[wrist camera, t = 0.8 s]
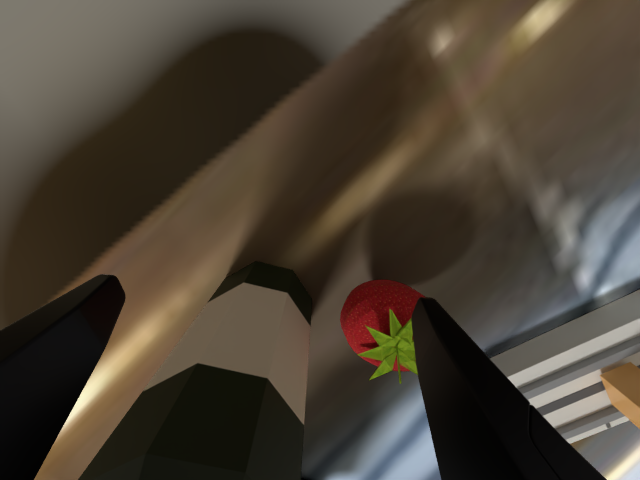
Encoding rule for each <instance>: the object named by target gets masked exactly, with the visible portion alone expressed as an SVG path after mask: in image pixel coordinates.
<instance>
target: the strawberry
mask: <svg viewBox="0 0 640 480" xmlns="http://www.w3.org/2000/svg"><path fill="white" fill-rule="evenodd" d="M420 297H425V296H423V295H422V294H420V293H419V292H417V291H416V290H414V289H412V288H411V287H409V286H407V285H405V284H402V283H399V282H396V281H391V280H373V281H368V282H365V283H363V284H361V285H359V286H357V287H356V288H355V289H354V290H352V291H351V293H350V294H349V296H348V297H347V299H346V301H345V303H344V306H343V308H342V311H341V317H340V322H341V327H342V330H343V332H344V334H345V336H346V339H347V341H348V343H349V345H350V346H351V348H352V349H353V350H354V351H355V352H356V353H357V354H358V356H360V357H361V358H363V359H364V360H366V361H367V362H369V363H371V364H373V365H375V366H378V368H377V369H376V370H375V372H374V373H373V375H372V376H371V377H370V379H369V380H371V379H374V378H376V377H378V376H381V375H383V374H385V373H388V372H390V371H392V370H394V371H398V373H399V383H400V384H401V373H400V371H412V372H414V373H415V374H417V375H418V373H417V367H416V359H415V349H414V340H413V331H412V322H411V318H412V313H413V311H414V308H415V306H416V303H417V301H418V299H419V298H420Z"/></svg>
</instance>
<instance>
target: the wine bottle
mask: <svg viewBox="0 0 640 480" xmlns="http://www.w3.org/2000/svg"><path fill="white" fill-rule="evenodd" d="M311 309H312V299H311V297H310V295H309V294H308V292H307V291H306V289H305V288H304V286H303V285H302V283H301V282H300V280H299V279H298V277H297V276H296V274H295V273H294V271H293V270H290V269H286V268H282V267H278V266H273V265H269V264H265V263H261V262H257V261H255V262H254V263H252V264H250V265H248V266H247V267H245V268H243V269H241V270H240V271H238V272H236V273H234V274H232V275H231V276H229V277H227V278H225V279H224V281H223V282H222V283H221V285H220V286H219V288H218V289H217V290H216V292H215V293H214V294H213V296H212V297H211V299H210V300H209V301H208V303H207V304H206V305H205V307H204V308H203V309H202V311H201V312H200V314H199V315H198V316H197V318H196V319H195V320H194V322H193V323H192V325H191V326H190V327H189V329H188V330H187V331H186V333H185V334H184V335H183V337H182V338H181V340H180V341H179V342H178V344H177V345H176V346H175V348H174V349H173V350H172V352H171V353H170V355H169V356H168V357H167V359H166V360H165V361H164V363H163V364H162V366H161V367H160V368H159V370H158V371H157V372H156V374H155V375H154V376H153V378H152V379H151V381H150V382H149V383H148V385H147V386H146V387H145V389H144V390H143V392H142V393H141V394H140V396H139V397H138V398H137V400H136V401H135V402H134V404H133V405H132V407H131V408H130V409H129V411H128V412H127V413H126V415H125V416H124V418H123V419H122V420H121V422H120V423H119V424H118V426H117V427H116V428H115V430H114V431H113V433H112V434H111V435H110V437H109V438H108V439H107V441H106V442H105V444H104V445H103V446H102V448H101V449H100V450H99V452H98V453H97V454H96V456H95V457H94V459H93V460H92V461H91V463H90V464H89V465H88V467H87V468H86V470H85V471H84V472H83V474H82V475H81V476H80V478H79V479H78V480H301V467H302V451H303V435H304V420H305V404H306V388H307V372H308V357H309V341H310V325H311Z"/></svg>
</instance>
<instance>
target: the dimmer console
mask: <svg viewBox="0 0 640 480" xmlns="http://www.w3.org/2000/svg"><path fill="white" fill-rule="evenodd" d="M490 359H491V361H492V362H493V363H494V364H495V365H496V366H497V367H498V368H499V369H500V370H501V371H502V372H503V374H504V375H505V376H506V377H507V378H508V379H509V380H510V381H511V382H512V383H513V384H514V385H515V387H516V388H517V389H518V390H519V391H520V392H521V393H522V394H523V395H524V396H525V397H526V398H527V400H528V401H529V402H530V405H533V406H534V407H535V408H536V409H537V410H538V411H539V412H540V413H541V414H542V416H543V417H544V418H545V419H546V420H547V421H548V422H549V423H550V424H551V425H552V426H553V427H554V428H555V429H556V430H557V431H558V432H559V433H560V434H561V436H562V437H563V438H564V439H565V440H566V441H567V442H568V443H569V444H570V443H573V442H575V441H578V440H580V439H583V438H586V437H588V436H591V435H593V434H596V433H598V432H601V431H603V430H606V429H608V428H611V427H613V426H616V425H618V424H621V423H623V422H626V421H629V419H628V418H627V417H626V416H625V415H623V414H622V413H621V412H620V411H619V410H618V409H617V408H616V407H614V406H613V405H612V404H611V402H610V399H609V397H608V394H607V392H606V389H605V387H604V385H603V382H602V380H601V377H600V375H601V374H603V373H605V372H608V371H610V370H612V369H615V368H617V367H619V366H622V365H624V364H626V363H629V362H631V363H632V364H634V365H635V366H637V367H638V368H640V290H637V291H635V292H633V293H631V294H629V295H627V296H624V297H622V298H620V299H618V300H616V301H614V302H611V303H609V304H607V305H605V306H603V307H600V308H598V309H596V310H594V311H592V312H590V313H587V314H585V315H583V316H581V317H579V318H577V319H574V320H572V321H570V322H568V323H566V324H564V325H561V326H559V327H557V328H555V329H553V330H551V331H548V332H546V333H544V334H542V335H540V336H537V337H535V338H533V339H531V340H529V341H527V342H524V343H522V344H520V345H518V346H516V347H514V348H511V349H509V350H507V351H505V352H503V353H501V354H498V355H496V356H494V357H492V358H490Z"/></svg>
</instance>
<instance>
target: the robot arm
mask: <svg viewBox="0 0 640 480" xmlns="http://www.w3.org/2000/svg"><path fill="white" fill-rule="evenodd" d="M124 302H125V292H124V290H123V288H122V286H121V284H120V282H119V280H118V278H117V277H116V276H114V275H104V274H102V275H98V276H96V277H94V278H92V279H91V280H89V281H87V282H85V283H83V284H82V285H80V286H78V287H76V288H75V289H73V290H71V291H69V292H68V293H66V294H64V295H62V296H60V297H59V298H57V299H55V300H53V301H52V302H50V303H48V304H46V305H44V306H43V307H41V308H39V309H37V310H36V311H34V312H32V313H30V314H29V315H27V316H25V317H23V318H22V319H20V320H18V321H16V322H14V323H13V324H11V325H9V326H7V327H5V328H4V329H2V330H0V480H34V478H35V477H36V475H37V473H38V471H39V469H40V467H41V466H42V464H43V462H44V460H45V458H46V456H47V455H48V453H49V451H50V449H51V447H52V445H53V444H54V442H55V440H56V438H57V436H58V434H59V433H60V431H61V429H62V427H63V425H64V423H65V422H66V420H67V418H68V416H69V414H70V412H71V411H72V409H73V407H74V405H75V403H76V401H77V399H78V398H79V396H80V394H81V392H82V390H83V388H84V387H85V385H86V383H87V381H88V379H89V377H90V376H91V374H92V372H93V370H94V368H95V366H96V365H97V363H98V361H99V359H100V357H101V355H102V353H103V351H104V349H105V347H106V345H107V343H108V341H109V338H110V336H111V334H112V331H113V329H114V326H115V324H116V322H117V319H118V317H119V314H120V312H121V309H122V307H123V305H124ZM411 322H412V331H413V340H414V349H415V359H416V367H417V373H418V378H419V382H420V387H421V391H422V396H423V400H424V404H425V409H426V413H427V418H428V422H429V427H430V431H431V435H432V440H433V444H434V449H435V453H436V458H437V462H438V466H439V471H440V475H441V480H606V479H605V478H604V477H603V476H602V475H601V474H600V473H599V472H598V471H597V470H596V469H595V468H594V467H593V466H592V465H591V464H590V463H589V462H588V461H587V460H586V459H585V458H584V457H583V456H582V455H581V454H580V453H578V452H577V451H576V450H575V449H574V448H573V447H572V446H571V445H570V444H569V443H568V442H567V441H566V440H565V439H564V438H563V437H562V436H561V434H560V433H559V432H558V431H557V430H556V429H555V428H554V427H553V426H552V425H551V424H550V423H549V422H548V421H547V420H546V419H545V418H544V417H543V416H542V414H541V413H540V412H539V411H538V410H537V409H536V408H535V407H534V406H533V405H530V402H529V401H528V400H527V398H526V397H525V396H524V395H523V394H522V393H521V392H520V391H519V390H518V389H517V388H516V387H515V385H514V384H513V383H512V382H511V381H510V380H509V379H508V378H507V377H506V376H505V375H504V374H503V372H502V371H501V370H500V369H499V368H498V367H497V366H496V365H495V364H494V363H493V362H492V361H491V359H490V358H489V357H488V356H487V355H486V354H485V353H484V352H483V351H482V350H481V349H480V348H479V347H478V345H477V344H476V343H475V342H474V341H473V340H472V339H471V338H470V337H469V336H468V335H467V334H466V332H465V331H464V330H463V329H462V328H461V327H460V326H459V325H458V324H457V323H456V322H455V321H454V319H453V318H452V317H451V316H450V315H449V314H448V313H447V312H446V311H445V310H444V309H443V308H442V306H441V305H440V304H439V303H438V302H437V301H436V300H435V299H433V298H428V297H420V298H419V299H418V301H417V303H416V306H415V308H414V311H413V313H412V318H411ZM301 480H306V479H304V478H301Z"/></svg>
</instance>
